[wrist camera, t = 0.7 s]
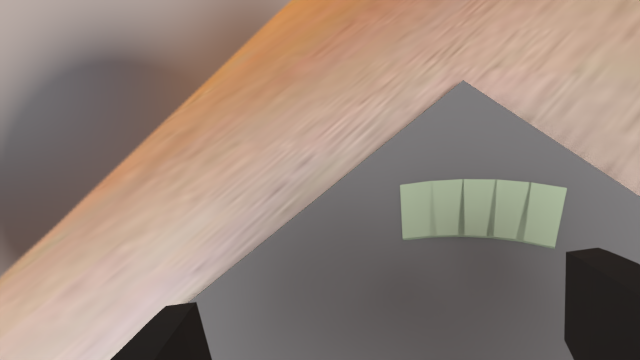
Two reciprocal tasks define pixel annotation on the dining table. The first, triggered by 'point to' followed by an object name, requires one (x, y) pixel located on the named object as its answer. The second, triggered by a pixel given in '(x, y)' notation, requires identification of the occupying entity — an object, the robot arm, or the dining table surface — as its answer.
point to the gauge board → (428, 249)
